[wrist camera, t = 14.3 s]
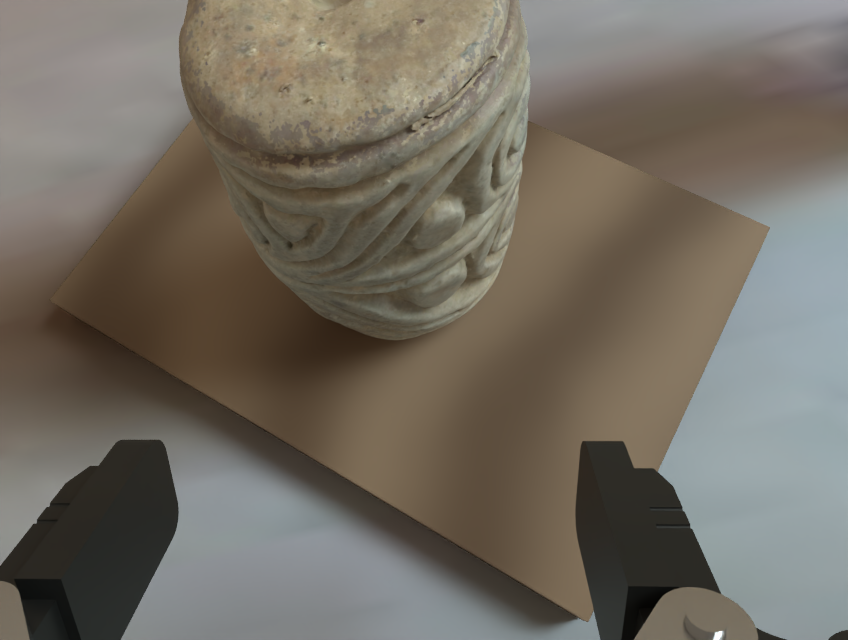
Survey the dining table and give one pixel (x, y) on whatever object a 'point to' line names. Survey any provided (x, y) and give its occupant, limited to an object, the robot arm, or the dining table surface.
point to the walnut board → (445, 345)
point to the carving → (367, 146)
